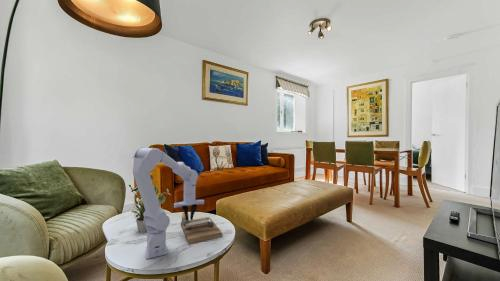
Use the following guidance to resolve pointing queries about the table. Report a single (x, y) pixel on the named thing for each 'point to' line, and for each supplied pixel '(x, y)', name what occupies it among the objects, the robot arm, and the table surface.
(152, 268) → the table surface
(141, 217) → the house plant
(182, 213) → the brass catch
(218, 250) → the table surface
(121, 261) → the table surface
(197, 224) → the clamp bar
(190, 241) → the walnut board
